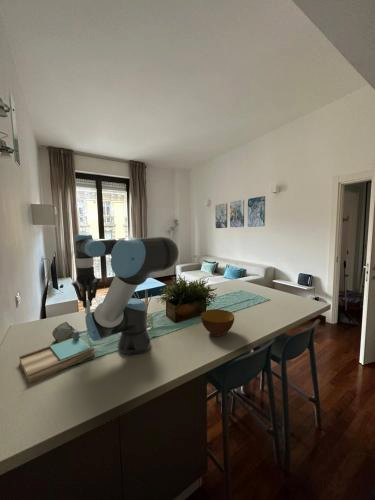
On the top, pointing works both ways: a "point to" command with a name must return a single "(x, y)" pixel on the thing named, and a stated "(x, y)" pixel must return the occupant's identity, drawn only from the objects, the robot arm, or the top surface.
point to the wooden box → (48, 362)
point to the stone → (63, 332)
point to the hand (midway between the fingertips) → (87, 313)
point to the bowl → (217, 321)
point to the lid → (70, 347)
